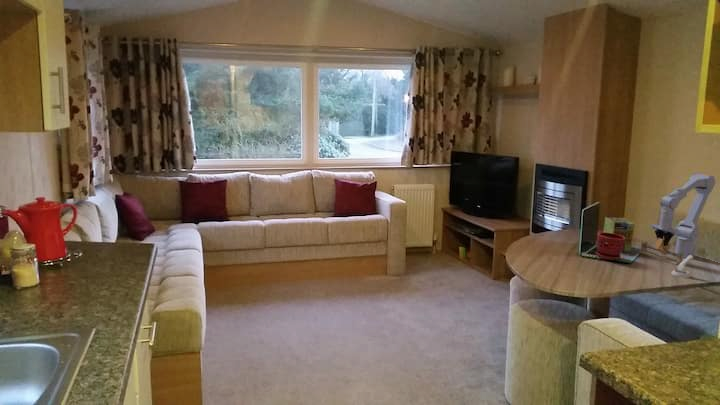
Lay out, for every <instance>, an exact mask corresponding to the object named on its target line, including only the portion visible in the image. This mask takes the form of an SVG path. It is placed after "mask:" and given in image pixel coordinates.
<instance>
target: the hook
mask: <svg viewBox="0 0 720 405" xmlns="http://www.w3.org/2000/svg"><path fill="white" fill-rule="evenodd" d="M693 259H694V257H693V256H692V255H689V256H688V257H686V258H684V259H682V262H681V263H680V264H677V266H676V267H677V269H673V270H672V271H671V274H672V275H673V276H676V277H679V278H690V277H691V274H690V272H689V271H687V270H686V268H687V267H686V265H687V264H689V263H690V262H691V261H692V260H693Z"/></svg>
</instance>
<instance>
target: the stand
mask: <svg viewBox="0 0 720 405" xmlns="http://www.w3.org/2000/svg"><path fill="white" fill-rule="evenodd" d="M654 246H655V245H650V244H648V242H645V241H643V242H642V243H641V247H640V250H638V253H639V252H641V253H640V254H643V255H646V256H647V257H648V256H649V257H652V258H655V259H658V260H660V261H664V262H666V263H670V264H673V265H676V266H678V265H679V264H680V263H681V262H682V261H683V258H684V257H683V253H674V252H675V251H670V250H668V251H667V250H664V249H662V247H661V248H660V250H657V249H654ZM647 249H651V250H654V251H657V252H663V253H666V255H670V256H673V257H676V258H672V257H669V256H666V255H664V254H661V253H660V254H659V253H657V252H653V251H650V250H647Z"/></svg>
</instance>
